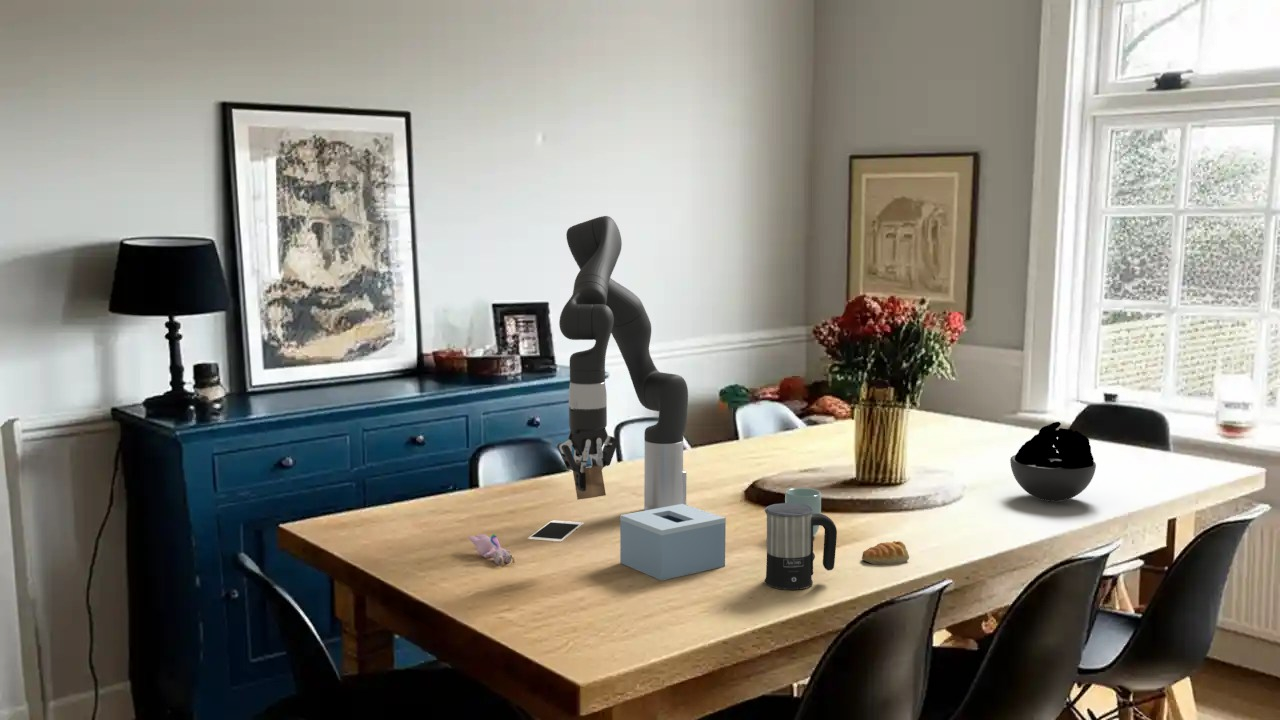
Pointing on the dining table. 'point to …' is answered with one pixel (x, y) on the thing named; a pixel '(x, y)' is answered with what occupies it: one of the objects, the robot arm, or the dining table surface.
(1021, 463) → the bowl of black rocks
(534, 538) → the cell phone
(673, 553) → the box
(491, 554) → the rabbit figure
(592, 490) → the wooden rectangular block
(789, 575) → the milk frother
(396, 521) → the dining table surface
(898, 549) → the pastry
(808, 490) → the cup
